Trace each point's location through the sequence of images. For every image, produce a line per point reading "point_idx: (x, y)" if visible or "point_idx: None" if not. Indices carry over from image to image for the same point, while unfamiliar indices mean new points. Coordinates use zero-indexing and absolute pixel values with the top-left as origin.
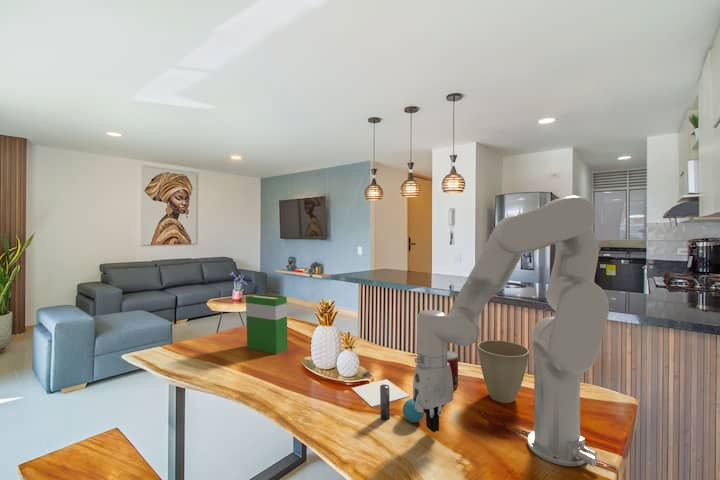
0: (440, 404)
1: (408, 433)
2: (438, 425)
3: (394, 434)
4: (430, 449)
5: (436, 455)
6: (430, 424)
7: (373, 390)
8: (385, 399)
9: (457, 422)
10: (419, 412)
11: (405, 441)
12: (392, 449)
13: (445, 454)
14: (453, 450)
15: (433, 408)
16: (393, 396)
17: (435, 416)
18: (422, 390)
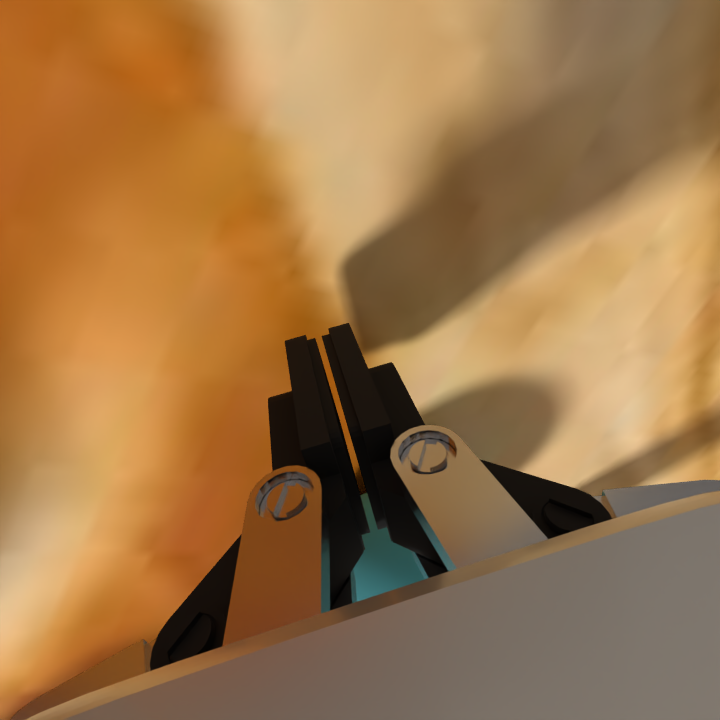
0: (370, 640)
1: (485, 394)
2: (298, 368)
3: (572, 397)
4: (445, 155)
5: (445, 31)
6: (396, 382)
7: None
8: None
9: (9, 476)
10: (396, 551)
11: (560, 313)
12: (697, 244)
13: (343, 8)
14: (215, 51)
15: (339, 574)
16: None
17: (345, 452)
18: None
